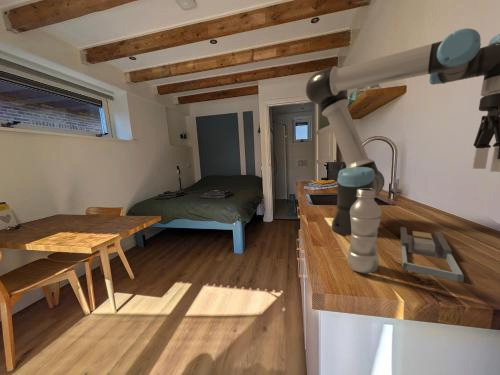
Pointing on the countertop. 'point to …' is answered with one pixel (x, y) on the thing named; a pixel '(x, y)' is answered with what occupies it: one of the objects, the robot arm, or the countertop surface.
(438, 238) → the channel
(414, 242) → the steel block
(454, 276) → the grey u-shaped frame
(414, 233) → the brass block
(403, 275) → the countertop surface
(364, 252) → the plastic bottle
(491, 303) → the countertop surface
